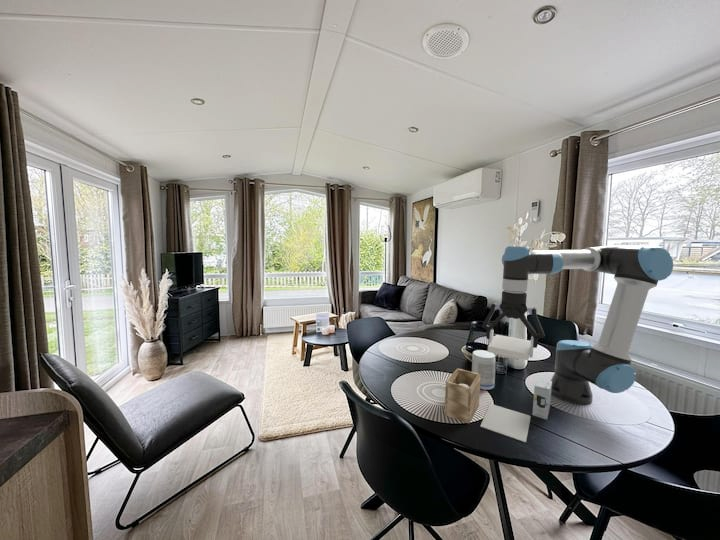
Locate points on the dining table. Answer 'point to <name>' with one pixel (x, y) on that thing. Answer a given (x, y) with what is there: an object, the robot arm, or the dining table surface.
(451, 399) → the box
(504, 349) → the lid
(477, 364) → the supplement tub
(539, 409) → the ink box
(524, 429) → the mat
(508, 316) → the robot arm
